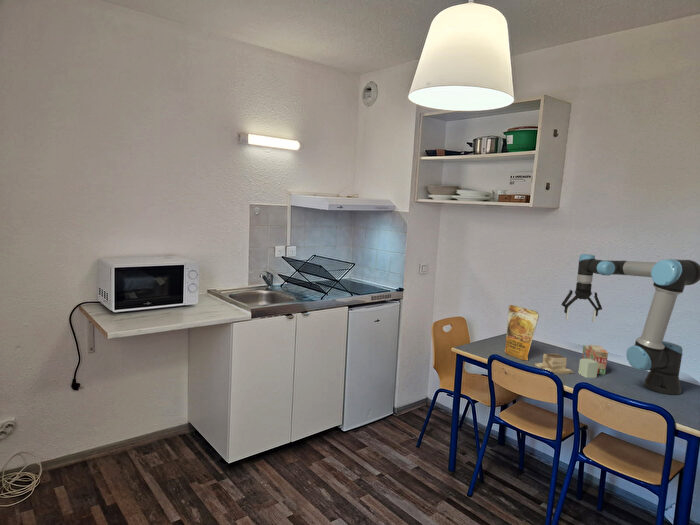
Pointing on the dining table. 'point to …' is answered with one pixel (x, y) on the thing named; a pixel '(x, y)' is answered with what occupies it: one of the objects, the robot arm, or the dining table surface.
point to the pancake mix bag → (520, 331)
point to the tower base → (554, 364)
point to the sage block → (588, 368)
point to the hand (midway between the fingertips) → (579, 320)
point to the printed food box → (596, 356)
